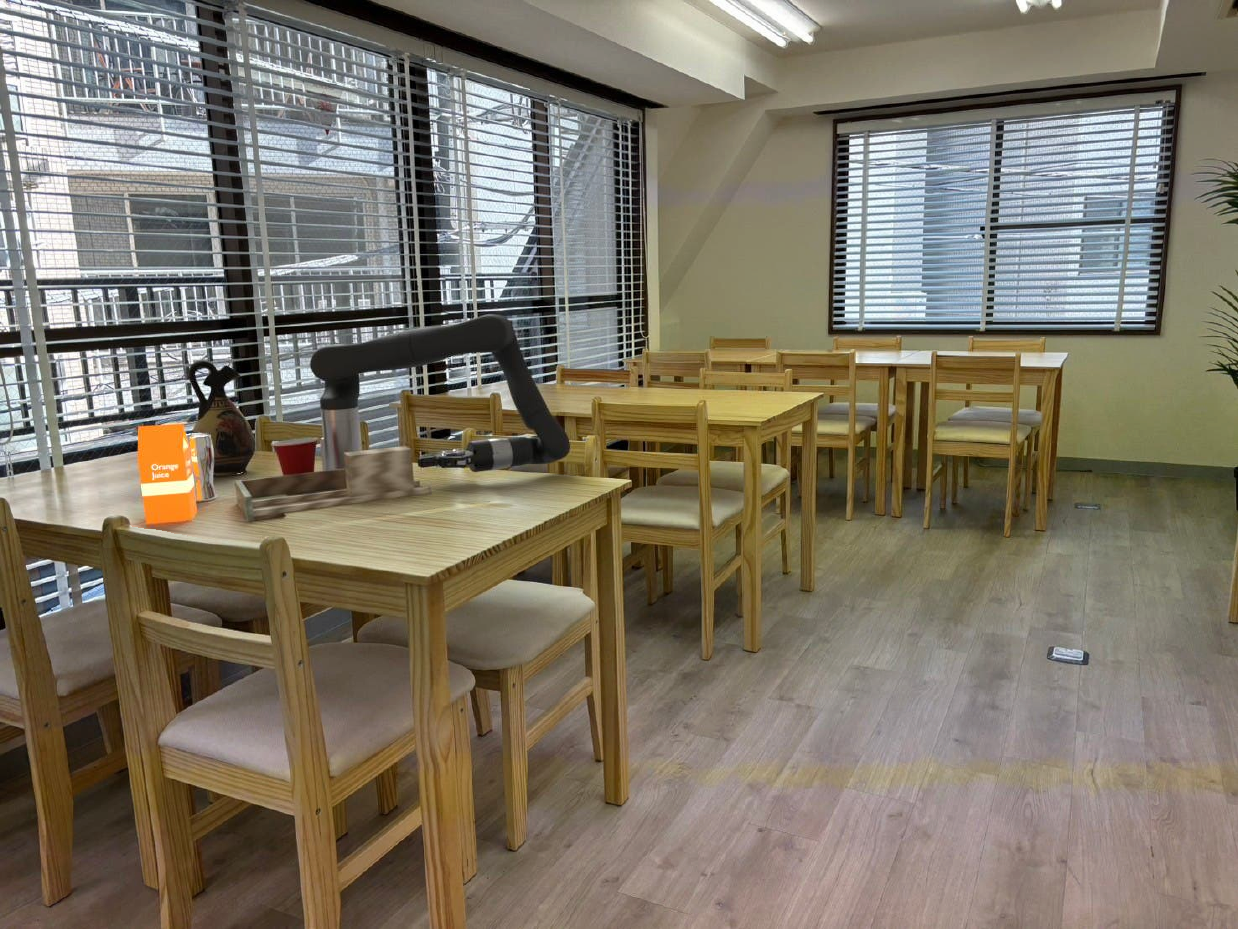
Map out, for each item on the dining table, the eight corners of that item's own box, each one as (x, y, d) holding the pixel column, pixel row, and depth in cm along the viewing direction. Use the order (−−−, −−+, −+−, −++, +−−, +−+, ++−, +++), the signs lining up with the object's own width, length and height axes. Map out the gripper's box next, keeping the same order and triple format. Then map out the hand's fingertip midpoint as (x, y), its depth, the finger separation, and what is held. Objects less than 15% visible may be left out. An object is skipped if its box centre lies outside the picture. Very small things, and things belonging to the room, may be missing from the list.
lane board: (247, 521, 189) (245, 496, 188) (237, 503, 205) (234, 480, 204) (432, 496, 207) (430, 474, 206) (408, 481, 223) (407, 460, 222)
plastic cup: (304, 481, 227) (300, 434, 225) (332, 486, 221) (327, 437, 219) (266, 490, 219) (261, 440, 216) (293, 494, 212) (288, 444, 210)
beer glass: (212, 494, 216) (205, 431, 213) (223, 498, 211) (216, 434, 208) (181, 499, 211) (173, 435, 208) (192, 504, 206) (184, 438, 203)
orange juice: (192, 520, 191) (180, 426, 187) (145, 524, 189) (133, 429, 185) (197, 511, 198) (186, 421, 195) (153, 515, 196) (141, 424, 192)
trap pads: (304, 499, 204) (304, 498, 204) (299, 493, 210) (299, 492, 210) (393, 488, 213) (393, 486, 213) (385, 482, 219) (385, 481, 219)
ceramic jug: (252, 465, 251) (240, 356, 246) (262, 474, 238) (250, 359, 233) (185, 473, 243) (171, 360, 237) (192, 482, 230) (177, 364, 224)
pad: (252, 506, 199) (252, 504, 199) (248, 500, 205) (248, 498, 205) (290, 501, 202) (290, 499, 202) (285, 495, 208) (285, 494, 208)
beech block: (352, 500, 201) (348, 456, 199) (347, 496, 206) (343, 452, 204) (414, 492, 208) (411, 449, 206) (408, 488, 212) (405, 446, 210)
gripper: (479, 435, 223) (409, 442, 215) (498, 442, 211) (426, 451, 203) (481, 465, 224) (411, 474, 216) (500, 474, 213) (428, 483, 205)
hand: (418, 462), depth 210 cm, fingers closed
